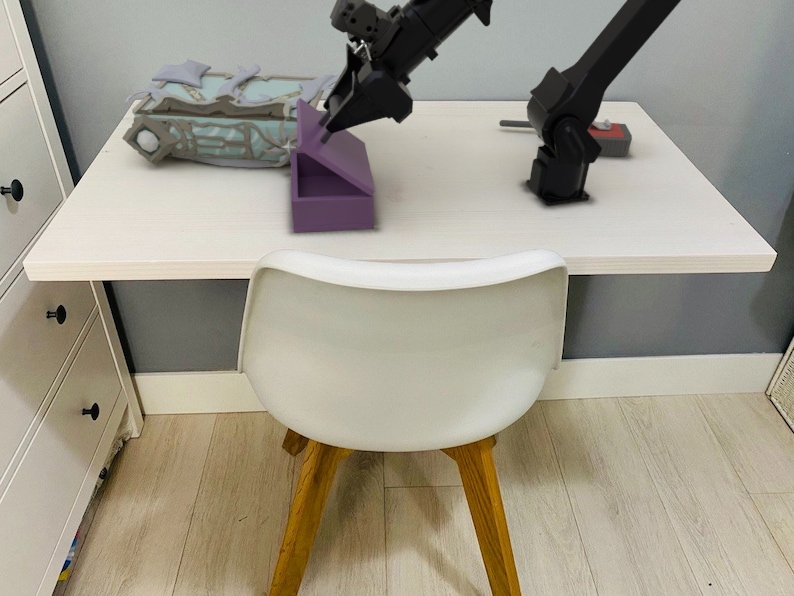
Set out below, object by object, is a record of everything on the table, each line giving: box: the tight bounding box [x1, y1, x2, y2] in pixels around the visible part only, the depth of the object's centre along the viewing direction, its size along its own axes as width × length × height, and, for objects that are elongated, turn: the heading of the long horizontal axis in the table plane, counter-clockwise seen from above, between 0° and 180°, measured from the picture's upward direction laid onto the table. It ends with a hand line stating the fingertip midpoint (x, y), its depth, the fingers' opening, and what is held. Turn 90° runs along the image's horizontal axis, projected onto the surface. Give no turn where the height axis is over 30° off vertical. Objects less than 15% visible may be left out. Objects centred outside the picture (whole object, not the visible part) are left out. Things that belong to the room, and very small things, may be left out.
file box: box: [290, 150, 375, 233], centre depth 83 cm, size 10×14×4 cm
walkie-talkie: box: [498, 118, 633, 157], centre depth 100 cm, size 9×4×20 cm
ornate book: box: [121, 58, 341, 176], centre depth 96 cm, size 23×10×30 cm
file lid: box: [296, 95, 376, 196], centre depth 79 cm, size 10×14×5 cm
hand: (326, 119), depth 78 cm, fingers closed on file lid, 6 cm apart
